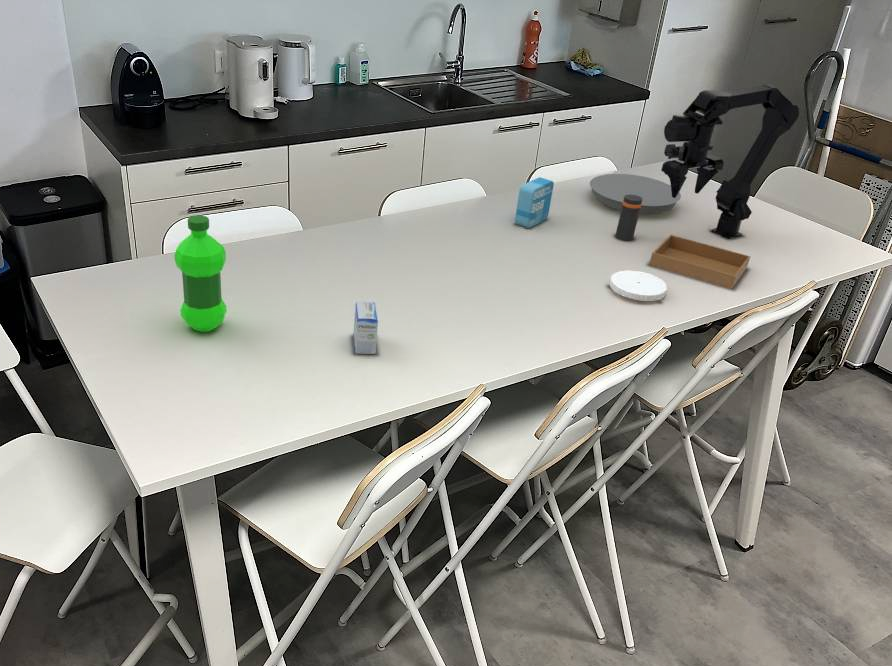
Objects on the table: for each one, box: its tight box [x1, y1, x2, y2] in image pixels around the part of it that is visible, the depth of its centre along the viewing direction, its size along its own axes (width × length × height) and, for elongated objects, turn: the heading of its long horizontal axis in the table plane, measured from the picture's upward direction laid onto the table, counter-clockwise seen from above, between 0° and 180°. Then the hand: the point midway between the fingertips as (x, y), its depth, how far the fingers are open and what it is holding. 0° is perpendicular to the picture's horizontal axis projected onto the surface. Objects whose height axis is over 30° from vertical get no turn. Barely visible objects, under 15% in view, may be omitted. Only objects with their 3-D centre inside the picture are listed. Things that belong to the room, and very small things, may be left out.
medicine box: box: [352, 301, 379, 355], centre depth 182 cm, size 8×4×9 cm, turn 5°
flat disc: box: [589, 173, 682, 214], centre depth 268 cm, size 28×28×4 cm
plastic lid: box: [608, 269, 668, 302], centre depth 215 cm, size 14×14×2 cm
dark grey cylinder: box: [615, 194, 642, 242], centre depth 242 cm, size 5×5×12 cm
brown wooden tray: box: [649, 234, 751, 290], centre depth 229 cm, size 16×22×4 cm
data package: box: [514, 176, 555, 229], centre depth 247 cm, size 12×4×12 cm, turn 141°
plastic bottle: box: [174, 214, 227, 333], centre depth 181 cm, size 10×10×25 cm
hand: (685, 195), depth 240 cm, fingers open, 9 cm apart
